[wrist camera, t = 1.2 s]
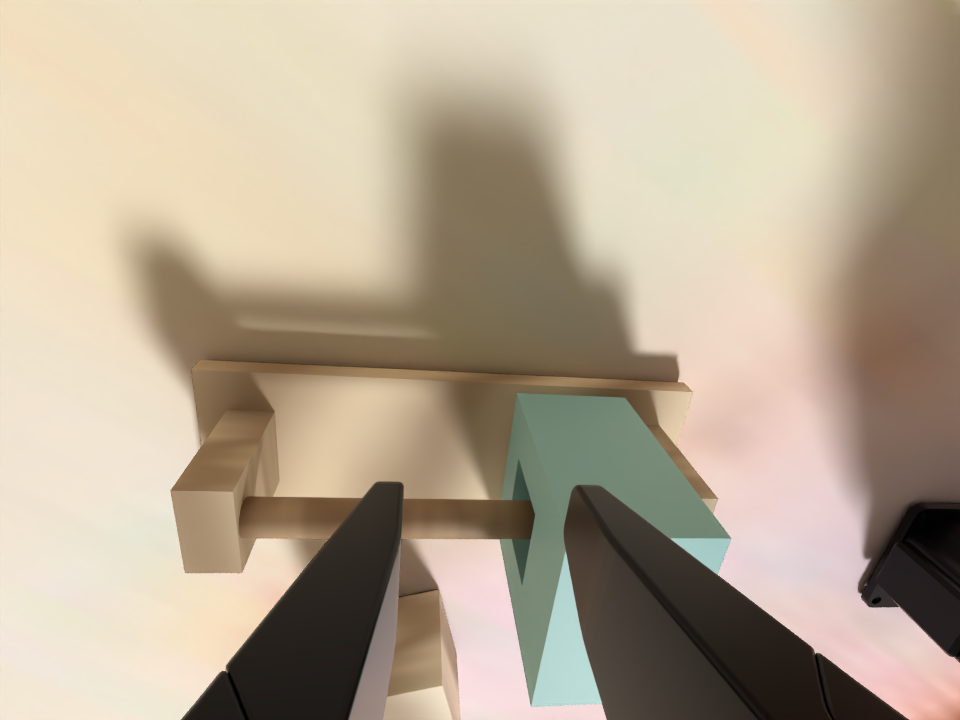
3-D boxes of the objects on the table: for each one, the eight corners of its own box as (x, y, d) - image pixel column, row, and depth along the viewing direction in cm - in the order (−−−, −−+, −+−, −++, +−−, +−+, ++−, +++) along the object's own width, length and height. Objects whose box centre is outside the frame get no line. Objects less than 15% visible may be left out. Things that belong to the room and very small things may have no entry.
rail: (683, 382, 20) (762, 459, 15) (648, 503, 23) (707, 602, 18) (200, 359, 18) (120, 443, 13) (218, 497, 20) (156, 609, 15)
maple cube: (439, 589, 24) (442, 685, 20) (456, 652, 26) (462, 752, 21) (342, 608, 24) (325, 709, 19) (367, 670, 25) (356, 774, 21)
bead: (625, 397, 18) (731, 538, 12) (593, 527, 21) (668, 701, 14) (516, 393, 18) (568, 537, 12) (497, 526, 20) (531, 706, 14)
